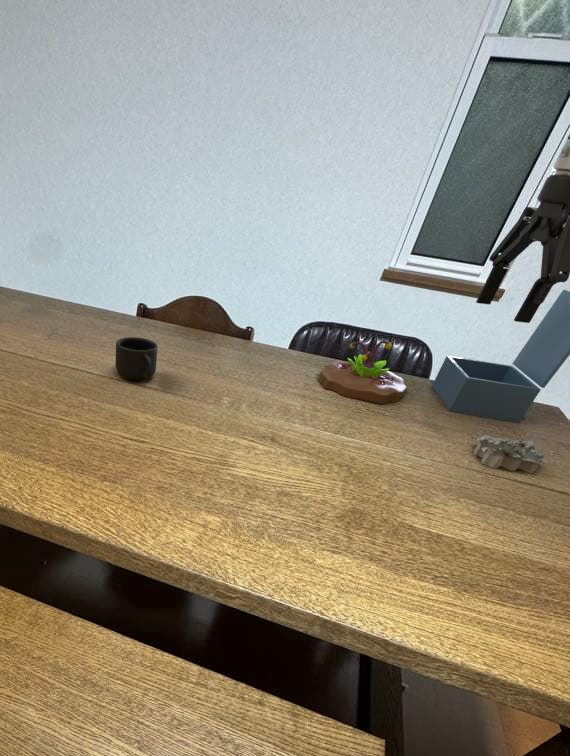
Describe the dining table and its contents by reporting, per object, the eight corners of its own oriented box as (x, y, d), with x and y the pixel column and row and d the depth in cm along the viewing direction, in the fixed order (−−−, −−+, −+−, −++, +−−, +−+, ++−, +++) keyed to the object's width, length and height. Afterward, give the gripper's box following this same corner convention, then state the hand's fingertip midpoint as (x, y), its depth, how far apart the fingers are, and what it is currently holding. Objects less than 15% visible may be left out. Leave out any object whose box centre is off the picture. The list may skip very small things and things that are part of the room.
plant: (394, 411, 101) (417, 360, 93) (310, 386, 107) (326, 337, 100) (408, 386, 114) (429, 340, 107) (333, 365, 121) (348, 320, 114)
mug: (109, 370, 103) (109, 337, 98) (145, 367, 106) (147, 336, 102) (129, 391, 95) (130, 357, 90) (167, 387, 98) (170, 354, 94)
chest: (449, 411, 104) (467, 377, 99) (431, 386, 116) (446, 355, 111) (519, 422, 103) (541, 389, 98) (494, 396, 115) (512, 365, 110)
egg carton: (483, 467, 84) (495, 448, 82) (467, 448, 90) (479, 429, 87) (541, 476, 84) (555, 457, 81) (522, 456, 90) (535, 437, 87)
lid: (602, 305, 87) (628, 312, 87) (563, 289, 99) (585, 295, 98) (540, 387, 97) (563, 393, 97) (511, 363, 109) (532, 368, 109)
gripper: (510, 170, 85) (452, 295, 99) (609, 175, 66) (520, 328, 80) (548, 175, 86) (485, 298, 99) (656, 182, 67) (560, 333, 80)
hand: (500, 312), depth 90 cm, fingers open, 13 cm apart
